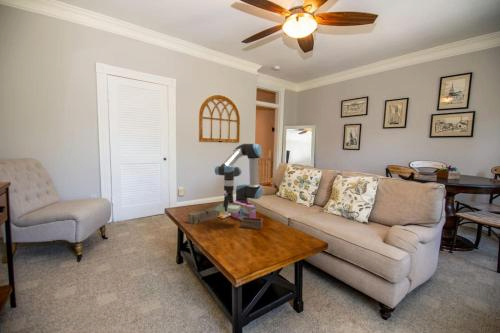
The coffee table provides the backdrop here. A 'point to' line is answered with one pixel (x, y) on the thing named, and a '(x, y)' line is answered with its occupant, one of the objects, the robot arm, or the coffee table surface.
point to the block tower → (203, 215)
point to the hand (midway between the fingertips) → (228, 213)
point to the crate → (252, 223)
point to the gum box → (244, 210)
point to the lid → (230, 208)
